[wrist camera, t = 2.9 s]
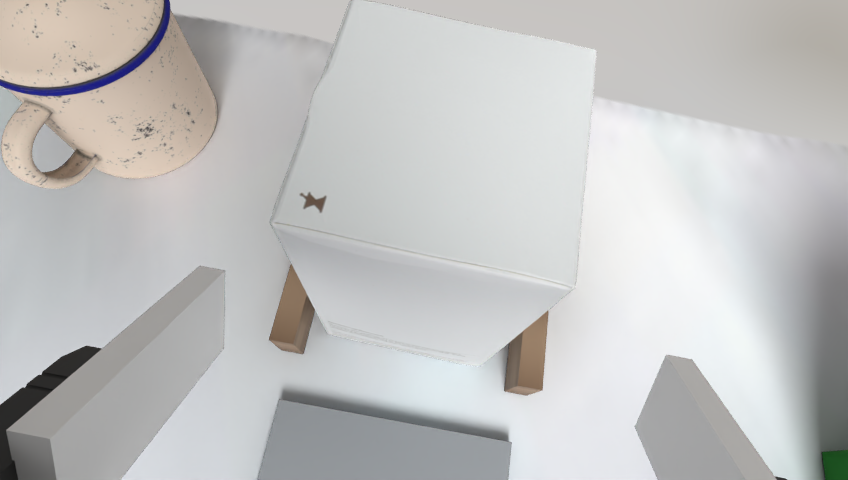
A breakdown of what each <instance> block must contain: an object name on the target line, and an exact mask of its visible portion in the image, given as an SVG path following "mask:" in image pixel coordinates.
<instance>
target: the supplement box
mask: <svg viewBox="0 0 848 480" xmlns="http://www.w3.org/2000/svg"><path fill="white" fill-rule="evenodd" d="M596 56H597V52H596V49H592V48H585V47H580V46H576V45H572V44H569V43H565V42H561V41H556V40H551V39H546V38H541V37H536V36H531V35H525V34H519V33H514V32H509V31H504V30H500V29H495V28H491V27H486V26H481V25H476V24H472V23H467V22H463V21H459V20H454V19H450V18H445V17H441V16H436V15H432V14H428V13H424V12H420V11H415V10H411V9H406V8H401V7H397V6H393V5H388V4H384V3H378V2H373V1H368V0H351V1H350V2H349V4H348V6H347V9H346V12H345V15H344V17H343V20H342V23H341V26H340V29H339V31H338V34H337V37H336V39H335V42H334V45H333V48H332V50H331V53H330V56H329V59H328V61H327V64H326V67H325V69H324V72H323V75H322V77H321V80H320V82H319V83H318V85H317V87H316V89H315V91H314V93H313V96H312V99H311V102H310V106H309V111H308V116H307V119H306V121H305V124H304V127H303V130H302V133H301V135H300V138H299V141H298V144H297V147H296V150H295V152H294V155H293V157H292V160H291V163H290V165H289V168H288V171H287V173H286V176H285V179H284V181H283V184H282V187H281V190H280V192H279V195H278V198H277V201H276V204H275V207H274V210H273V213H272V216H271V219H270V224H271V226H272V228H273V230H274V231H275V233H276V235H277V237H278V239H279V241H280V243H281V245H282V247H283V249H284V251H285V252H286V255H287V257H288V258H289V260H290V262H291V264H292V266H293V268H294V270H295V272H296V274H297V276H298V278H299V280H300V281H301V283H302V285H303V287H304V289H305V291H306V293H307V295H308V297H309V299H310V301H311V303H312V305H313V307H314V309H315V311H316V313H317V315H318V317H319V319H320V321H321V323H322V324H323V326H324V328H325V330H326V332H327V334H329V335H332V336H337V337H341V338H345V339H350V340H355V341H359V342H364V343H368V344H373V345H377V346H382V347H386V348H391V349H395V350H400V351H404V352H409V353H413V354H418V355H422V356H427V357H431V358H436V359H440V360H445V361H449V362H453V363H458V364H463V365H468V366H475V367H480V366H482V365H483V364H484V363H485V362H487V361H488V360H489V359H490V358H491V357H492V356H494V355H495V354H496V353H497V352H499V351H500V350H501V349H502V348H503V347H505V346H506V345H507V344H508V343H509V342H511V341H512V340H513V339H514V338H515V337H516V336H518V335H519V334H520V333H521V332H522V331H524V330H525V329H526V328H527V327H529V326H530V325H531V324H532V323H533V322H535V321H536V320H537V319H538V318H540V317H541V316H542V315H543V314H544V313H545V312H547V311H548V310H549V309H551V308H552V307H553V306H554V305H555V304H557V303H558V302H559V301H560V300H561V299H562V298H563V297H565V296H566V295H567V294H569V293H570V292H571V291H572V290H574V289H575V286H576V277H577V267H578V257H579V245H580V234H581V223H582V212H583V201H584V190H585V179H586V169H587V158H588V147H589V137H590V126H591V115H592V104H593V92H594V79H595V65H596Z"/></svg>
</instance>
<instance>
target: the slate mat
mask: <svg viewBox="0 0 848 480" xmlns="http://www.w3.org/2000/svg"><path fill="white" fill-rule="evenodd" d="M511 444H512V442H507V441H502V440H496V439H491V438H486V437H480V436H475V435H470V434H464V433H459V432H453V431H448V430H443V429H437V428H432V427H426V426H421V425H416V424H410V423H405V422H399V421H394V420H389V419H383V418H378V417H372V416H367V415H362V414H356V413H351V412H346V411H340V410H335V409H329V408H324V407H319V406H313V405H308V404H302V403H297V402H292V401H286V400H281V399H279V402H278V406H277V409H276V413H275V417H274V420H273V424H272V428H271V432H270V435H269V439H268V443H267V446H266V450H265V454H264V457H263V461H262V465H261V468H260V472H259V476H258V480H508V476H509V465H510V455H511Z"/></svg>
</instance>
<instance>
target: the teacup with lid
mask: <svg viewBox="0 0 848 480" xmlns="http://www.w3.org/2000/svg"><path fill="white" fill-rule="evenodd" d="M0 86H2V87H5V88H7V89H8V90H9V91H10V92H11V93H12V94H14V95H15V96H16V97H17V98H18V99H19V100H20V101H21V102H22V104H21V106H20V107H19V108H18V109H17V111H16V112H15V113H14V114H13V116H12V117H11V119H10V120H9V122H8V123H7V125H6V127H5V130H4V132H3V136H2V142H1V151H2V157H3V160H4V163H5V165H6V166H7V168H8V169H9V170H10V171H11V173H13V174H14V175H15V176H16V177H18V178H19V179H21V180H23V181H24V182H27V183H29V184H32V185H35V186H39V187H42V188H48V189H60V188H65V187H69V186H72V185H74V184H76V183H78V182H79V181H81V180H82V179H83V178H84V177H85V176H86V175H87V174H88V173H89V172H90V171H91V170H92V169H93V167H95V168H96V169H98V170H100V171H102V172H104V173H106V174H109V175H113V176H116V177H122V178H131V179H140V178H149V177H155V176H159V175H162V174H165V173H168V172H171V171H173V170H175V169H177V168H179V167H181V166H183V165H184V164H186V163H187V162H189V161H190V160H191V159H193V158H194V157H195V156H196V155H197V154H198V153H199V152H200V151H201V150H202V149H203V148H204V147H205V145H206V144H207V143H208V141H209V139H210V138H211V136H212V134H213V131H214V128H215V125H216V120H217V104H216V100H215V97H214V94H213V92H212V90H211V88H210V86H209V84H208V82H207V80H206V78H205V76H204V74H203V72H202V71H201V69H200V67H199V65H198V63H197V61H196V59H195V57H194V55H193V53H192V51H191V49H190V47H189V45H188V43H187V41H186V39H185V37H184V35H183V33H182V31H181V29H180V27H179V25H178V23H177V21H176V19H175V17H174V15H173V13H172V11H171V10H170V2H169V0H0ZM44 123H45V124H46V125H47V126H48V127H49V128H51V129H52V130H53V131H54V132H55V133H56V134H57V135H58V136H59V137H60V138H61V139H63V140H64V141H65V142H66V143H67V144H68V145H69V146H70V147H71V148H72V149H73V150H74V151H75V152H74V153H73V154H72V156H71V157H70V158H69V159H68V160H67V161H66V163H64V164H63V165H62V166H61V167H59V168H58V169H56V170H53V171H50V172H40V171H39V170H38V169H37V167H36V166H35V164H34V162H33V159H32V147H33V142H34V139H35V137H36V135H37V133H38V132H39V130H40V129H41V127H42V126H43V125H44Z"/></svg>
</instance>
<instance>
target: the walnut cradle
mask: <svg viewBox="0 0 848 480" xmlns="http://www.w3.org/2000/svg"><path fill="white" fill-rule="evenodd" d="M314 311H315V309H314V307H313V305H312V303H311V301H310V299H309V297H308V295H307V293H306V291H305V289H304V287H303V285H302V283H301V281H300V280H299V278H298V276H297V274H296V272H295V270H294V268H293V266H292V264H291V265H290V269H289V272H288V276H287V279H286V282H285V286H284V289H283V293H282V296H281V300H280V303H279V307H278V310H277V313H276V317H275V320H274V324H273V327H272V331H271V334H270V337H269V340H270V341H271V342H272V343H273V344H275V345H276V346H277V347H278V348H279V349H281V350H284V351H289V352H294V353H300V354H303V353H304V349H305V346H306V342H307V338H308V334H309V330H310V327H311V323H312V319H313V315H314ZM547 323H548V311H547V312H545V313H544V314H543V315H542V316H541V317H540V318H538V319H537V320H536V321H535V322H533V323H532V324H531V325H530V326H529V327H527V328H526V329H525V330H524V331H522V332H521V333H520V334H519V335H518V336H516V337H515V338H514V339H513V340H512V341H511V342H510V343H509V352H508V362H507V371H506V381H505V390H504V391H505V392H511V393H516V394H521V395H529V394H532V393H535V392H538V391H541V390H542V388H543V375H544V362H545V349H546V336H547Z"/></svg>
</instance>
